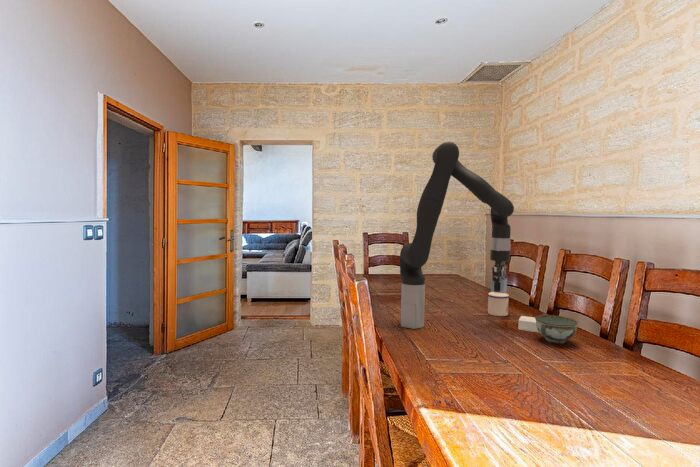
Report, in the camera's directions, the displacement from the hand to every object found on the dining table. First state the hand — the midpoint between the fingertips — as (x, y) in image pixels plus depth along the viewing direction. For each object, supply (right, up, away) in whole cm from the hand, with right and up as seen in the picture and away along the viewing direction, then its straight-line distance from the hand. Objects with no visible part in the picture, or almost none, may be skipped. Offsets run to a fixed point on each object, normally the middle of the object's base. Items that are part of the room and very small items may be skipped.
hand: (498, 290), depth 157 cm
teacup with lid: (+7, -14, +19) cm, 25 cm away
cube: (0, 0, 0) cm, 0 cm away
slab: (+11, -15, -4) cm, 19 cm away
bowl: (+13, -16, -20) cm, 28 cm away
